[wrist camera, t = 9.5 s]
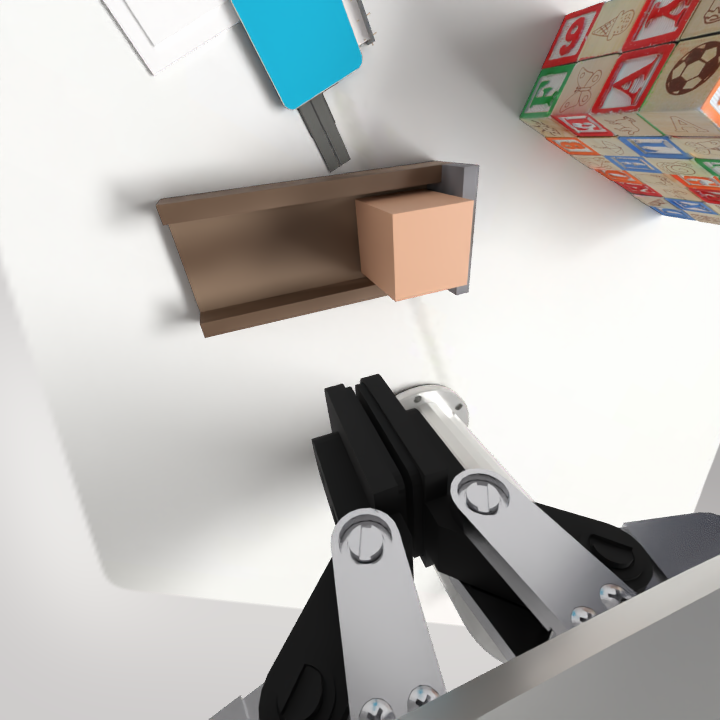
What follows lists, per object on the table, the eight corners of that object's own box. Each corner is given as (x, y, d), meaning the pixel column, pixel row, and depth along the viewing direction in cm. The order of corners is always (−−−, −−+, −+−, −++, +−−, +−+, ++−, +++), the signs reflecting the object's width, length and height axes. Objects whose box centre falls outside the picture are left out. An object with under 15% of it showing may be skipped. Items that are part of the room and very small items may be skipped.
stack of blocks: (705, 147, 33) (915, 151, 23) (661, 216, 36) (834, 245, 26) (563, 12, 23) (822, -79, 14) (515, 120, 26) (705, 108, 16)
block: (421, 259, 28) (467, 284, 23) (361, 272, 27) (395, 301, 22) (422, 188, 25) (473, 200, 20) (355, 199, 24) (392, 214, 19)
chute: (433, 271, 30) (468, 292, 26) (205, 322, 25) (204, 356, 21) (435, 160, 25) (479, 164, 21) (160, 199, 21) (149, 213, 17)
